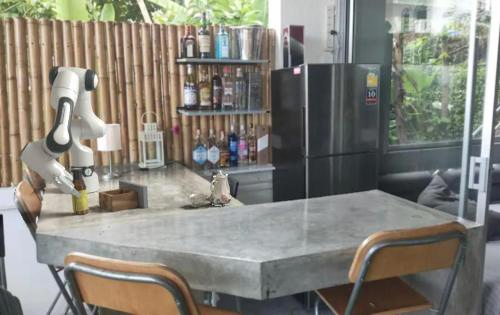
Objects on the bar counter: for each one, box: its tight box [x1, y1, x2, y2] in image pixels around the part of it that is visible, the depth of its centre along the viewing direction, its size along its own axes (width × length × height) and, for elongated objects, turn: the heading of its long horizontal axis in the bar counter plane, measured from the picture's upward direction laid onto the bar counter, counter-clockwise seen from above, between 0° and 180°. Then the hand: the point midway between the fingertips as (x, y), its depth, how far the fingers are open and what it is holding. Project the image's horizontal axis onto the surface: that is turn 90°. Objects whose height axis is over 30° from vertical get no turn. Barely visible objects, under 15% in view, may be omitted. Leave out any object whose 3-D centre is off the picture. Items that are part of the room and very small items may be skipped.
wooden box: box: [98, 188, 138, 213], centre depth 198 cm, size 12×12×7 cm
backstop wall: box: [118, 179, 149, 209], centre depth 203 cm, size 22×2×10 cm, turn 46°
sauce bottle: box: [70, 168, 89, 216], centre depth 186 cm, size 7×6×20 cm
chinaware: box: [187, 170, 233, 208], centre depth 202 cm, size 28×17×17 cm, turn 154°
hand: (81, 194), depth 186 cm, fingers closed on sauce bottle, 6 cm apart
